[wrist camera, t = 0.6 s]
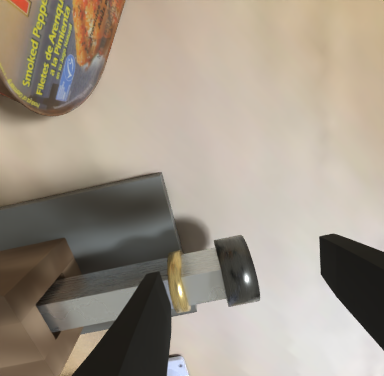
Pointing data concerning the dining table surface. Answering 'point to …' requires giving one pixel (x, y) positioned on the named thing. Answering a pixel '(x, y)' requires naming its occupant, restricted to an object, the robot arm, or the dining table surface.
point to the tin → (55, 50)
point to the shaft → (172, 278)
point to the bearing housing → (72, 260)
